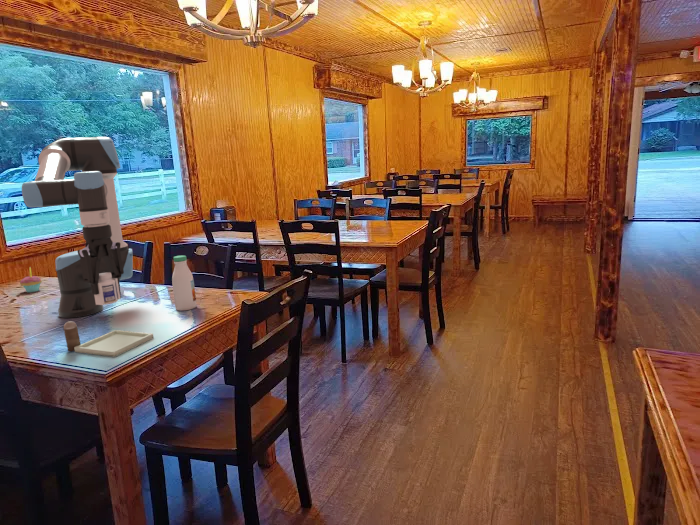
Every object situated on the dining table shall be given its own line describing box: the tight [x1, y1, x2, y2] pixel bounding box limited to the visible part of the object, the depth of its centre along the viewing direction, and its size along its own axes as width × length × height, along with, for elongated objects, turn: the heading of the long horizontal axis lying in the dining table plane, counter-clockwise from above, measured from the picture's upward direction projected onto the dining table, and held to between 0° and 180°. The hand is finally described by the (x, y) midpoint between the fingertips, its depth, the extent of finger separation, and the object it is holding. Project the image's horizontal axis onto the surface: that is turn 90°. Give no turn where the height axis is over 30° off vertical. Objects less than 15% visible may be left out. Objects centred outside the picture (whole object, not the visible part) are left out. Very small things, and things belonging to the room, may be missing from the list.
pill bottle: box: [98, 272, 119, 306], centre depth 151 cm, size 5×5×9 cm
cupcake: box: [19, 267, 43, 293], centre depth 231 cm, size 9×8×12 cm
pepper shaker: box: [63, 320, 82, 353], centre depth 151 cm, size 4×4×9 cm
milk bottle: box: [171, 255, 197, 311], centre depth 188 cm, size 8×8×20 cm
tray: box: [74, 329, 154, 358], centre depth 154 cm, size 16×16×2 cm
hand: (108, 301), depth 151 cm, fingers closed on pill bottle, 5 cm apart
